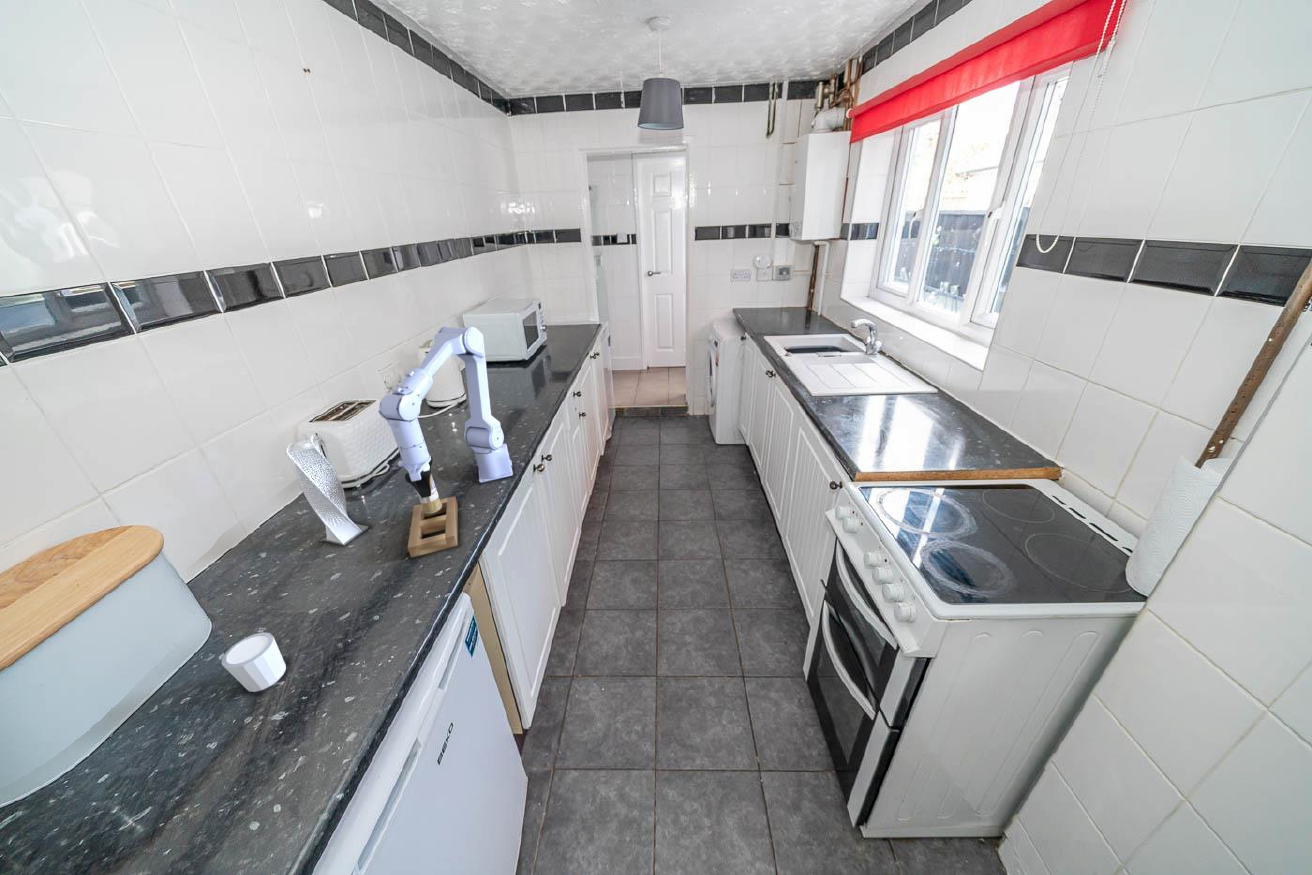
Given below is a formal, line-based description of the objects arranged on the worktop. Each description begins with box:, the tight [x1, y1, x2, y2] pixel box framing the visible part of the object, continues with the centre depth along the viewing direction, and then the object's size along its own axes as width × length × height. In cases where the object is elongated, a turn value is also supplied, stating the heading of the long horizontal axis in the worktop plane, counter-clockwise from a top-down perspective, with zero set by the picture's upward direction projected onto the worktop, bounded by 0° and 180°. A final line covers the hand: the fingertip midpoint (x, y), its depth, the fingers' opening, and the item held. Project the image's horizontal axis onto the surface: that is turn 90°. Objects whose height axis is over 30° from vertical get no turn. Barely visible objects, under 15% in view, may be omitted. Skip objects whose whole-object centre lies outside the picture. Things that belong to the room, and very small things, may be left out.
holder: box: [407, 495, 459, 558], centre depth 112 cm, size 10×18×3 cm, turn 21°
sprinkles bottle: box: [415, 463, 442, 514], centre depth 112 cm, size 5×5×14 cm
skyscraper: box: [285, 433, 370, 546], centre depth 106 cm, size 8×8×28 cm
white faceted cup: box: [221, 632, 287, 693], centre depth 77 cm, size 7×7×7 cm
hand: (427, 491), depth 112 cm, fingers closed on sprinkles bottle, 4 cm apart
